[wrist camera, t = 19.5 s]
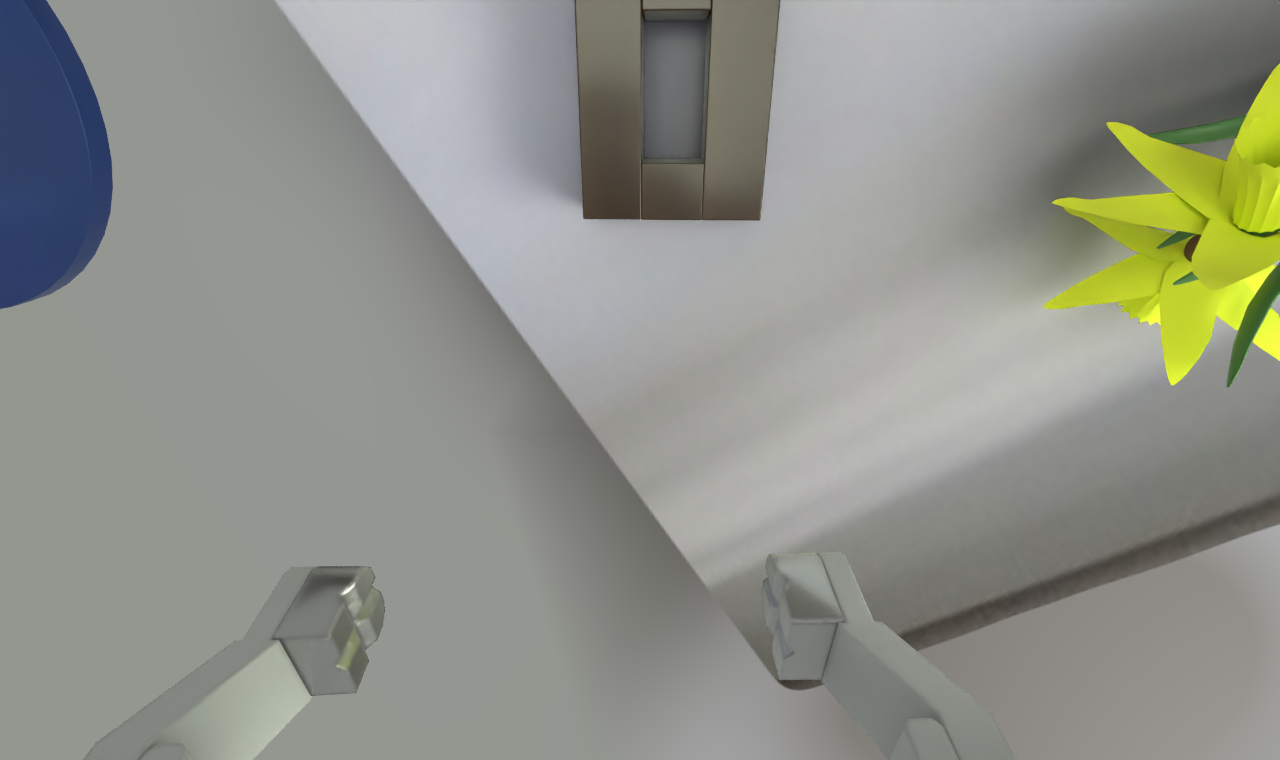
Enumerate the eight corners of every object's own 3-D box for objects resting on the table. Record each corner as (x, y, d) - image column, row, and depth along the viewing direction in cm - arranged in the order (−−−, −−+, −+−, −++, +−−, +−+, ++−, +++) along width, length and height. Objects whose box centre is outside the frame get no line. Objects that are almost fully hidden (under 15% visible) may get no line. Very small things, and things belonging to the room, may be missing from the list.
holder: (590, 209, 35) (583, 219, 32) (581, -46, 30) (571, -65, 27) (752, 210, 35) (760, 220, 32) (773, -48, 29) (786, -67, 26)
